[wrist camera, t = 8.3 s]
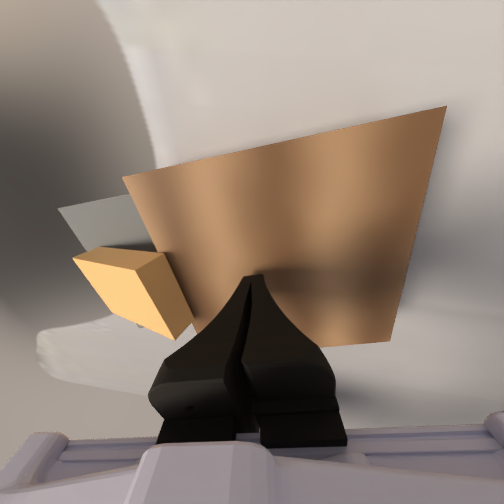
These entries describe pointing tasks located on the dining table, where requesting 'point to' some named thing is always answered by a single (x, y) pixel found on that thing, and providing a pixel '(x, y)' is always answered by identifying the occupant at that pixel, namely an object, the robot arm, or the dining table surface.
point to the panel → (299, 224)
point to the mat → (109, 225)
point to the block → (138, 288)
